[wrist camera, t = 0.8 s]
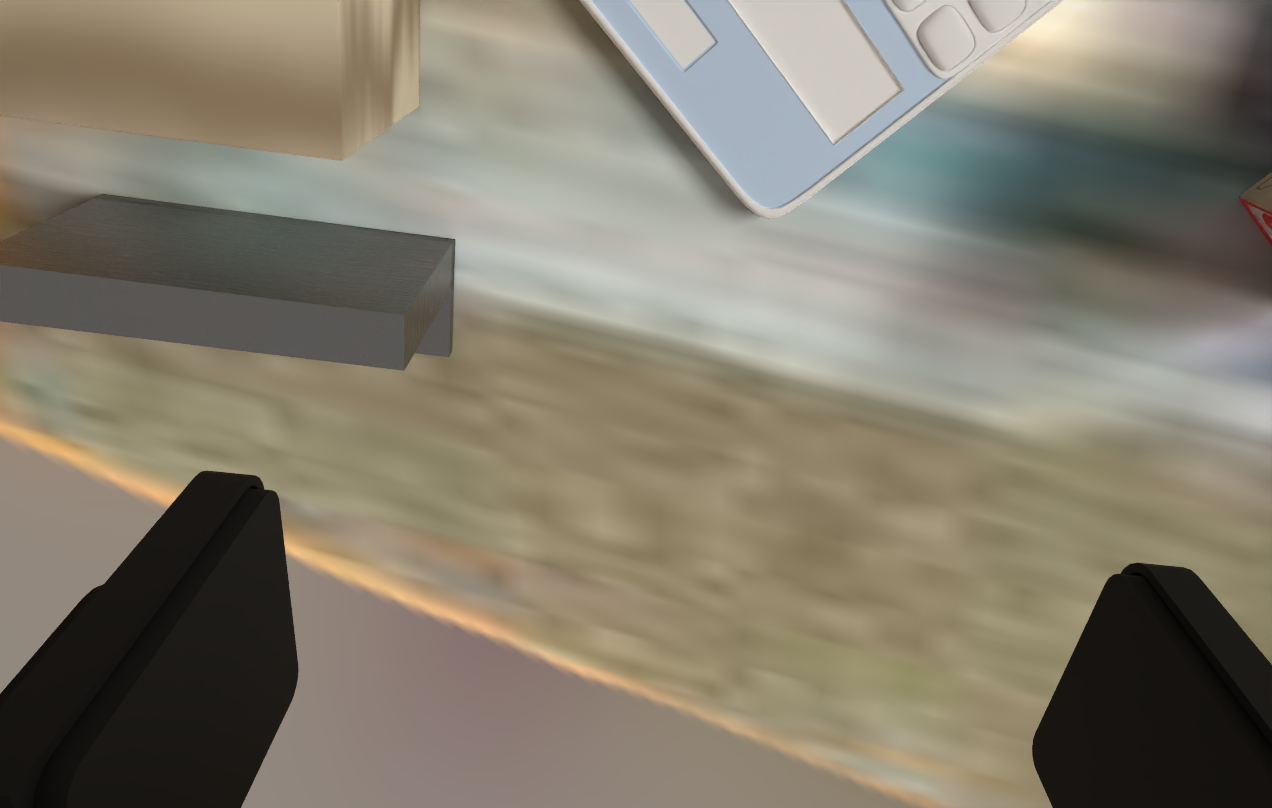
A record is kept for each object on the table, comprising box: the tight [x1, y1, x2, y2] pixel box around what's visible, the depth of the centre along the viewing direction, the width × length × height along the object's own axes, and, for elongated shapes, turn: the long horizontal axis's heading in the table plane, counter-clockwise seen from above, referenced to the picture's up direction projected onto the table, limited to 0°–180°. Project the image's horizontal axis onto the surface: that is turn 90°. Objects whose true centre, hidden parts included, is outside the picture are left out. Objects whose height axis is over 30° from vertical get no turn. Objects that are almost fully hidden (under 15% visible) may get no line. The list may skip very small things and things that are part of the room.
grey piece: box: [0, 194, 455, 370], centre depth 33 cm, size 5×14×8 cm, turn 83°
